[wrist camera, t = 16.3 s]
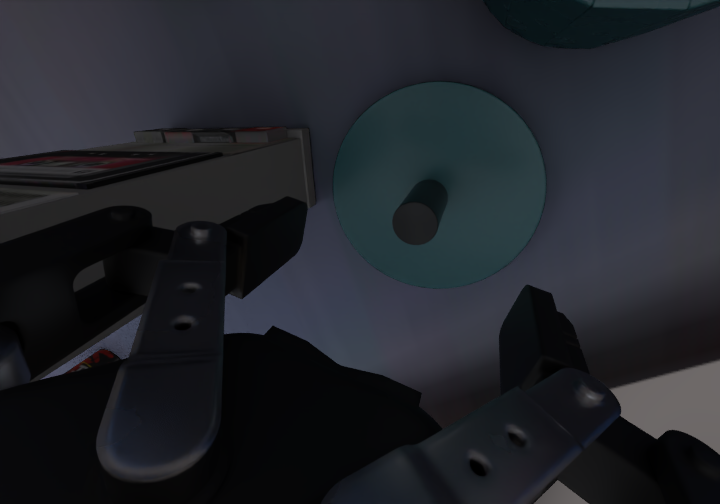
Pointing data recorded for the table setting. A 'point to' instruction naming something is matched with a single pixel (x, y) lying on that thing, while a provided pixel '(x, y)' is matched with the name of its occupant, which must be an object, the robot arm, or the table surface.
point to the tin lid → (439, 184)
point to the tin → (590, 19)
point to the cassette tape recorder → (155, 184)
